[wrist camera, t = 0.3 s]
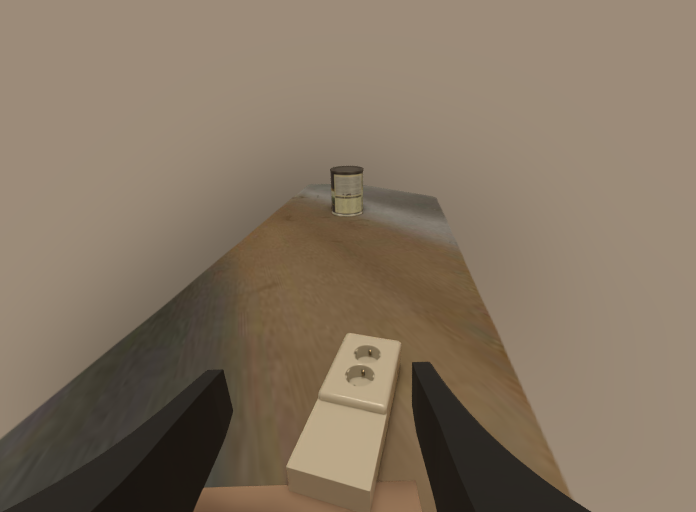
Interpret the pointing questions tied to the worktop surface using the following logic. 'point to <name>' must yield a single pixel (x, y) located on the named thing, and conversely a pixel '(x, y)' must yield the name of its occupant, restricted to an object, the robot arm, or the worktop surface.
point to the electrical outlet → (348, 425)
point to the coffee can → (347, 190)
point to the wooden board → (303, 499)
